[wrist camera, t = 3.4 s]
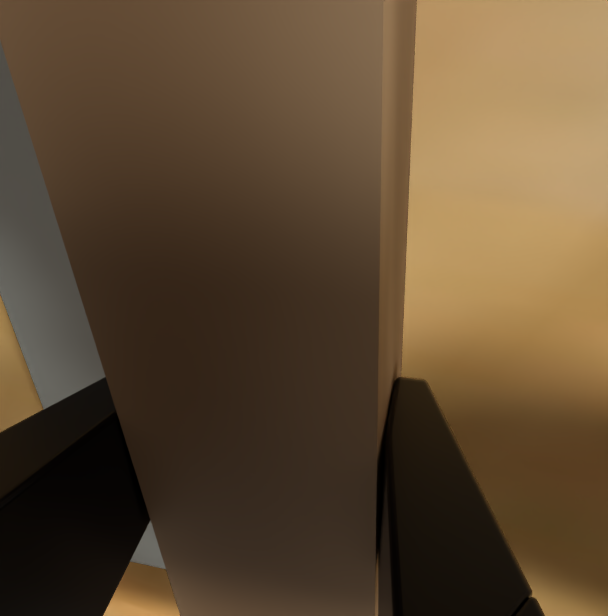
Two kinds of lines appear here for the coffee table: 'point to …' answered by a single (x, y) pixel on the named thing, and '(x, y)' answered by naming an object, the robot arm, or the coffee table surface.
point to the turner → (237, 269)
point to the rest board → (43, 279)
